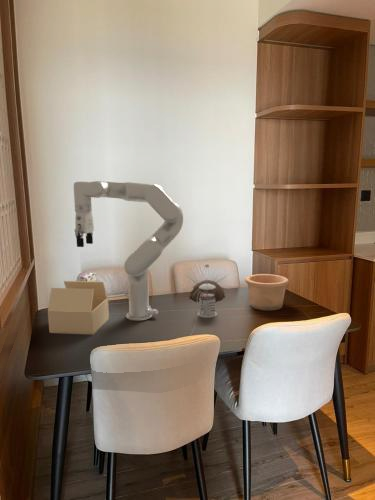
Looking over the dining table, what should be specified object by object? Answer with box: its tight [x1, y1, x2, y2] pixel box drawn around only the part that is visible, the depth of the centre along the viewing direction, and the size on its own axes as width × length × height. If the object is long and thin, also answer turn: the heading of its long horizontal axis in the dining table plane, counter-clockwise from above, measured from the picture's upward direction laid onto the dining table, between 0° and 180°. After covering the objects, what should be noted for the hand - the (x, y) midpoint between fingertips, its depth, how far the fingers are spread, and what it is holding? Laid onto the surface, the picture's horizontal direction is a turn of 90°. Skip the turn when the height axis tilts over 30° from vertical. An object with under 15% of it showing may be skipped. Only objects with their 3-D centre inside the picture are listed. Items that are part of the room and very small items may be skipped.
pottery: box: [244, 273, 290, 311], centre depth 198 cm, size 22×22×14 cm
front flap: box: [47, 287, 94, 312], centre depth 164 cm, size 19×10×1 cm
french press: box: [196, 264, 218, 318], centre depth 184 cm, size 10×12×25 cm
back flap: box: [63, 280, 108, 298], centre depth 180 cm, size 19×10×1 cm
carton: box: [47, 297, 110, 335], centre depth 173 cm, size 20×20×10 cm
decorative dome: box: [189, 279, 226, 302], centre depth 215 cm, size 19×20×10 cm
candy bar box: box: [78, 272, 97, 282], centre depth 203 cm, size 11×5×16 cm, turn 168°
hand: (85, 245), depth 179 cm, fingers open, 9 cm apart
